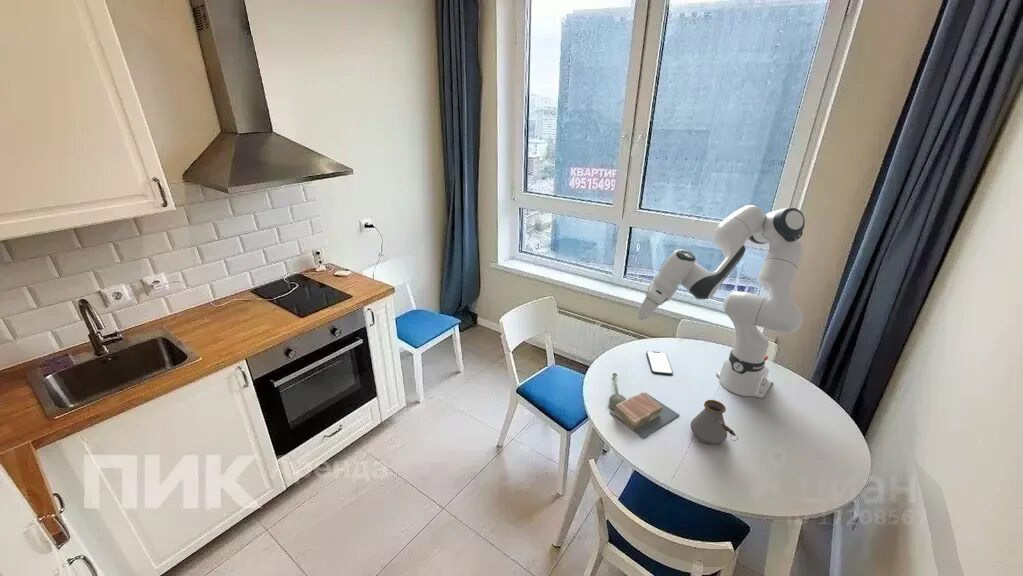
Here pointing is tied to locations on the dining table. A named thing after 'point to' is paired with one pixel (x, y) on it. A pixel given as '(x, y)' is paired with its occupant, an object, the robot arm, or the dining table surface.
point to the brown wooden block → (637, 410)
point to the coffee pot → (711, 424)
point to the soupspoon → (616, 396)
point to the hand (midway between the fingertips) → (641, 318)
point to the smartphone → (659, 363)
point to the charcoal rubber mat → (654, 424)
